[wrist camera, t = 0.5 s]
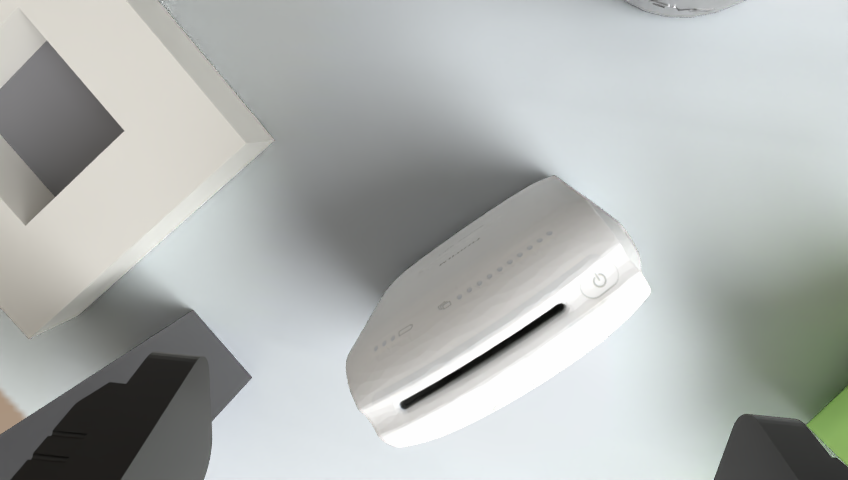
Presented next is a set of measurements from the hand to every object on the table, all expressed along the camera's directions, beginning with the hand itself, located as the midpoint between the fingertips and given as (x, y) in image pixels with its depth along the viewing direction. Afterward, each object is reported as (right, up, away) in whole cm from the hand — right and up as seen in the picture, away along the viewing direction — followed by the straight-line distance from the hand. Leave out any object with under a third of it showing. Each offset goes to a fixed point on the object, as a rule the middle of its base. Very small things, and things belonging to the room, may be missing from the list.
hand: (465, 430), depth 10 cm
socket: (-17, +9, +21) cm, 28 cm away
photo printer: (+3, +2, +20) cm, 20 cm away
